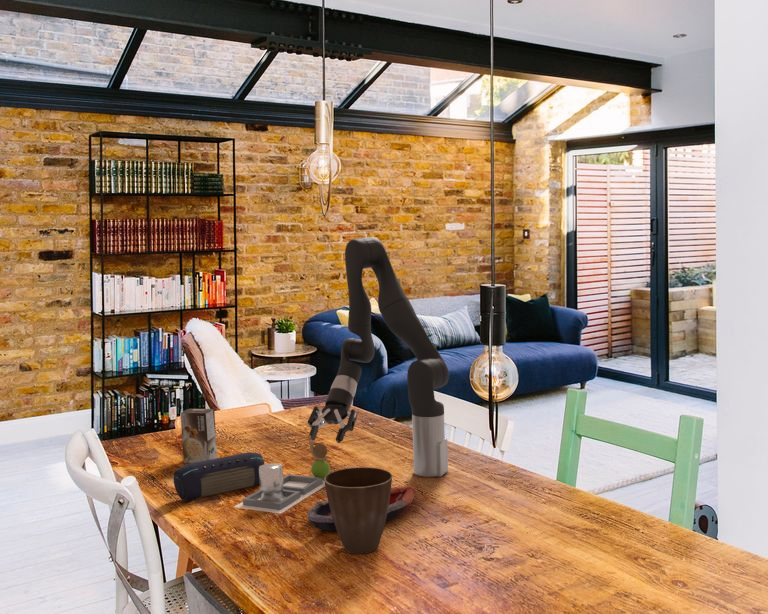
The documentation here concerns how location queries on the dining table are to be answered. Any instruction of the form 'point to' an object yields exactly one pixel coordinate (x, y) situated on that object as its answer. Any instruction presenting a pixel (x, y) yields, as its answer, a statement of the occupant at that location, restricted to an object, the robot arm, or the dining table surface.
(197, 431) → the coffee box
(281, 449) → the dining table surface
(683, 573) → the dining table surface
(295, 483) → the compartment tray
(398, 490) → the dish
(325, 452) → the snail figurine
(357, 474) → the plant pot
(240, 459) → the portable speaker
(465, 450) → the dining table surface
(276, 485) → the silver metal cylinder
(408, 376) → the robot arm
